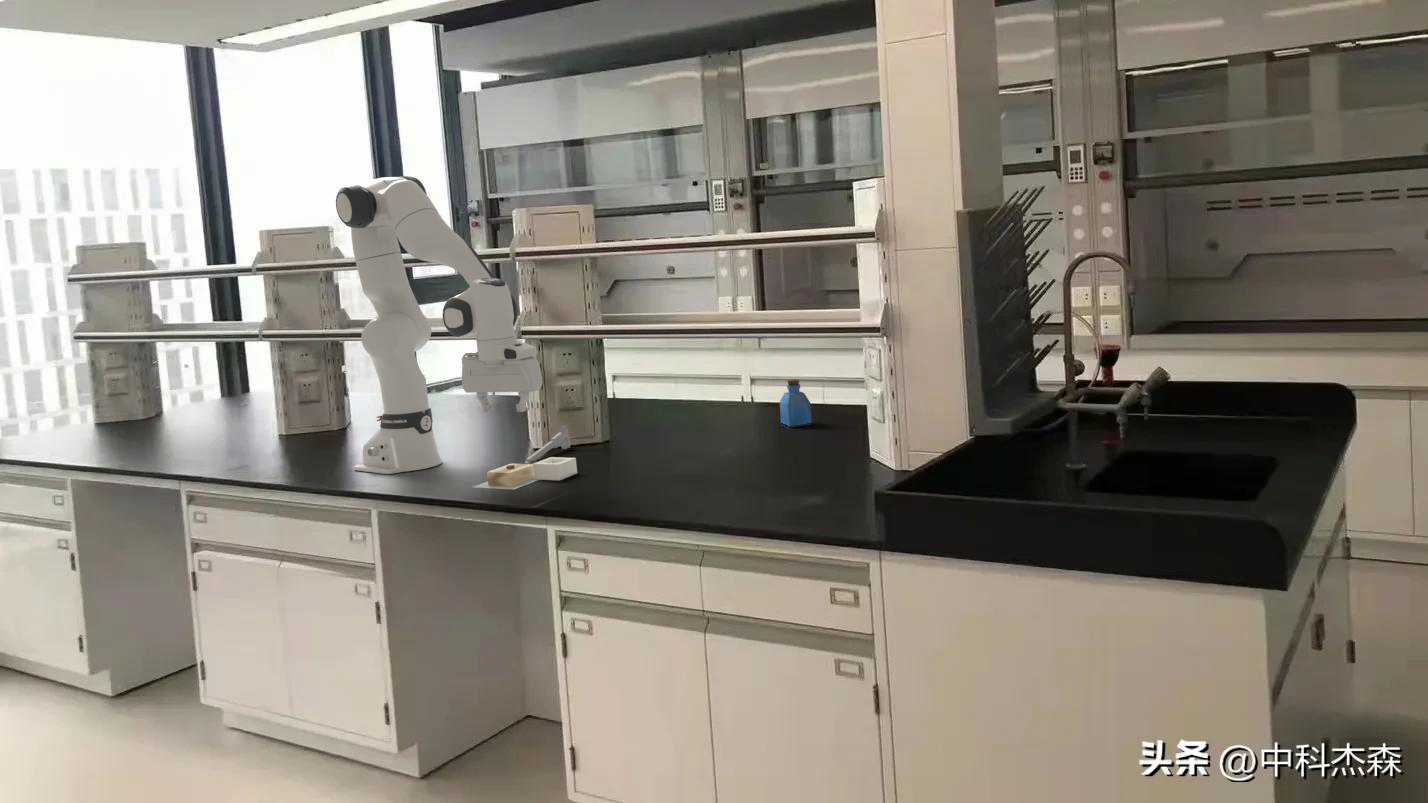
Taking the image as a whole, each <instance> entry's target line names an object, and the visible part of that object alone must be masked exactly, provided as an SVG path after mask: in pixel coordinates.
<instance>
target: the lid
mask: <svg viewBox="0 0 1428 803" xmlns="http://www.w3.org/2000/svg"><path fill="white" fill-rule="evenodd" d="M533 464H534V463H509V464H506V465H503V466H499V467H497V468H495V469H491V470H489V471H486V477H487V481H488V485H496V486H513V485H516V484H518V483H521V482H524V481H526V480H529V479H531V478H534V470H533Z"/></svg>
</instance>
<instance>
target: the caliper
mask: <svg viewBox="0 0 1428 803" xmlns="http://www.w3.org/2000/svg"><path fill="white" fill-rule="evenodd" d="M558 447H561V449H562V450H567V449H570V448H571V441H570V433H569V430H568V428H567V427H566V425H561V427H559V432H558V433H557V434H555V435H554V436H553V437H551V438H550V441H548V442H547V443H545V444H544V445H543V446H541V447H540V448H538V450H536V451H535V452H533V454H531V455H530V456H528V457H527V458H526V459H525V462H524V464H530V463H531V462H536V461H537V460H538V459H540V458H541V457H542V456H544V455H545V454H547V453H548V452H549V451H550V450H552V449H557V448H558Z"/></svg>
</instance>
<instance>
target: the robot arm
mask: <svg viewBox="0 0 1428 803" xmlns="http://www.w3.org/2000/svg"><path fill="white" fill-rule="evenodd" d="M335 208H336V212H337V216H338V217H339V219H340V221H341V222H342V223H343V225H345V226H347V227H348V228H350V230H351V231H350V232H351V234H350V235H351V236H350V237H351V243H352V251H353V256H354V260H355V264H356V269H357V272H358V277H359V280H360V285H361V289H362V292H363V294H364V295H365V297H367V299H368V300H369V301H370V302H371V305H372V306H373V308H374V310H375V313H376V315H377V316H376V317H374V318H372V319H371V320H370V321H369V322H368V323H367V324H365V326H364V328H363V330H362V331H361V335H360V336H361V344H362V346H363V349H364V350H365V352H366V353H368V355H369V356H370V358H371V360H372V364H373V366H374V369H375V372H376V374H377V378H378V380H379V381H378V382H379V384H380V385H379V386H380V393H381V399H382V400H381V401H382V407H383V413H382V415H378V416H376V417H375V419H376V420H375V421H376V422H380V426H379V427H380V428H379V429H378V430H377V431H376V432H375V433H374V434H373V435H372V436H371V438H369V439H368V440H367V441H366V443H365V444H363V449H362V462H360V463H358V464H356V465H354V466H353V468H354V471H359V472H366V473H374V474H384V475H391V474H398V473H405V472H412V471H420V470H425V469H429V468H433V467H436V466H439V465H441V464H442V463H443V460H442V458H441V455H440V452H439V449H438V446H437V442H436V438H435V434H434V429H433V422H434V421H433V412H432V408H430V404H429V397H428V396H429V394H428V387H427V386H428V385H427V379H426V376H425V375H424V374H423V372H422V370H421V368H420V365H419V363H418V361H417V357H416V353H415V352H418V351H419V350H421V349H422V348H424V347H425V345H426V344H427V343H428V341H430V339H431V335H432V324H431V322H430V320H429V319H428V317H426V315H425V314H424V313H423V311H422V309H421V308H420V305H419V303H418V301H417V299H416V297H415V295H414V292H413V290H412V287H411V286H410V281H409V279H408V275H407V272H406V268H405V264H404V260H403V256H402V252H401V247H400V245H401V246H402V247H403V249H404V251H406V252H407V253H408V254H409V255H410V256H411V257H413V258H414V259H415V258H416V260H421V261H424V262H430V263H434V264H438V265H443V266H446V267H449V268H452V269H453V270H454V271H457V272H458V273H459V274H460V275H461V276H462V278H463V279H464V280H465V281H466V283H467V285H469V287H468V288H467V289H466V290H464V291H463V292H461V293H460V294H457V295H455V296H453V297H449V298H448V300H447V301H446V302H445V303H444V305H443V307H442V321H443V324H444V327H445V329H446V330H447V331H448V333H450V335H453V337H456V338H457V337H458V338H467V337H468V338H469V337H475V336H476V338H475V339H476V341H475V342H476V348H477V351H466V352H465V353H464V354H463V356H462V358H461V366H462V368H461V387H462V389H463V390H464V392H465V393H471V394H473V393H475V394H476V398H477V399H478V401H479V402H480V404H481V405H482V411H483V412H484V413H491V412H493V410H494V408H493V403H492V402H491V403H490V401H489V399H488V398H487V397H488V393H517V395H518V397H519V398H520V399H519V402H518V403H516V404H515V407H516V410H515V411H516V412H517V413H523V412H526V411H527V402H528V399H529V397H530V393H533V392H536V391H540V390H541V388H542V386H543V376H542V368H541V365H540V362H539V360H538V359H537V358H536V357H535V356H537V355H538V349H537V347H536V346H534V345H532V344H528V343H525V342H523V341H521V340H517V334H516V330H515V328H514V326H515V325H516V323H517V321H518V318H519V306H518V303H517V300H516V299H515V297H514V296H513V294H511V292H510V289H509V286H508V284H507V282H506V281H505V280H503V279H500V278H496V277H495V275H494V274H493V273H492V271H491V270H490V268H488V266H487V265H486V263H485V262H484V261H483V260H482V258H481V256H479V254H478V253H477V251H476V250H475V249H474V248H473V247H472V246H471V244H470V243H469V242H468V241H467V240H466V239H465V238H463V237H462V236H460V235H459V234H458V233H456V232H455V231H454V230H453V229H452V228H451V227H450V226H449V225H448V224H447V222H446V221H445V220H444V219H443V218H442V216H441V214H440V213H439V211H438V210H437V208H436V206H435V205H434V203H433V202H432V200H431V198H430V197H429V196H428V194H427V191H426V188H425V186H424V184H423V183H422V181H421V180H419V179H418V178H417V177H414V176H408V175H400V176H386V177H385V176H384V177H377V178H374V179H371V180H365V181H362V182H358V183H356V182H353V183H349V184H346V185H344V186H342V187H341V188H340V189H339V190H338V192H337V195H336V198H335Z"/></svg>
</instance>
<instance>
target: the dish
mask: <svg viewBox="0 0 1428 803" xmlns="http://www.w3.org/2000/svg"><path fill="white" fill-rule="evenodd" d="M532 464H533V470H534V479H540V480H539V481H545V480H546V481H562V480H564V479H568V478H569V477H572V476H574V475H577V474H578V468H577V466H578V465H577V458H576V457H562V456H561V457H559V456H558V457H556V456H551V457H547V458H544V459H542V460H539V461H537V462H536V461H535V462H534V463H532Z"/></svg>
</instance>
